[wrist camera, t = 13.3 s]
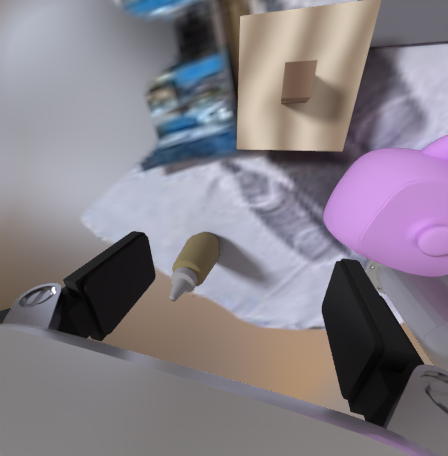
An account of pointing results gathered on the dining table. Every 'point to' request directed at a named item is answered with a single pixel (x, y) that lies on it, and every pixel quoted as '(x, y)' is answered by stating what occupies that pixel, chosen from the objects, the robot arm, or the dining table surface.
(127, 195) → the dining table surface
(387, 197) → the teapot
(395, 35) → the mat
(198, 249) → the squeeze bottle
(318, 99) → the lid
